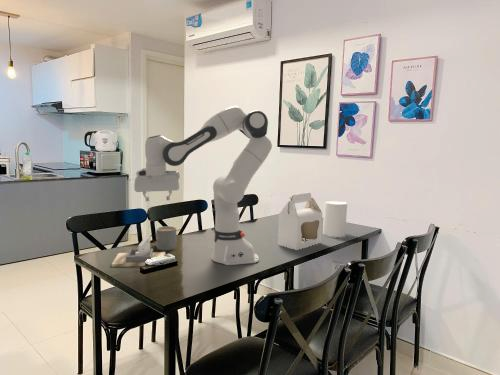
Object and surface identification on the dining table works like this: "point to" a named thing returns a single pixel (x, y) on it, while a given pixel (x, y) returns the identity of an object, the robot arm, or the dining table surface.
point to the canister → (334, 218)
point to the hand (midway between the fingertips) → (157, 200)
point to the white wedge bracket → (144, 247)
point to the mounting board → (121, 262)
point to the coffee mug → (166, 238)
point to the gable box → (300, 223)
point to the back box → (137, 258)
